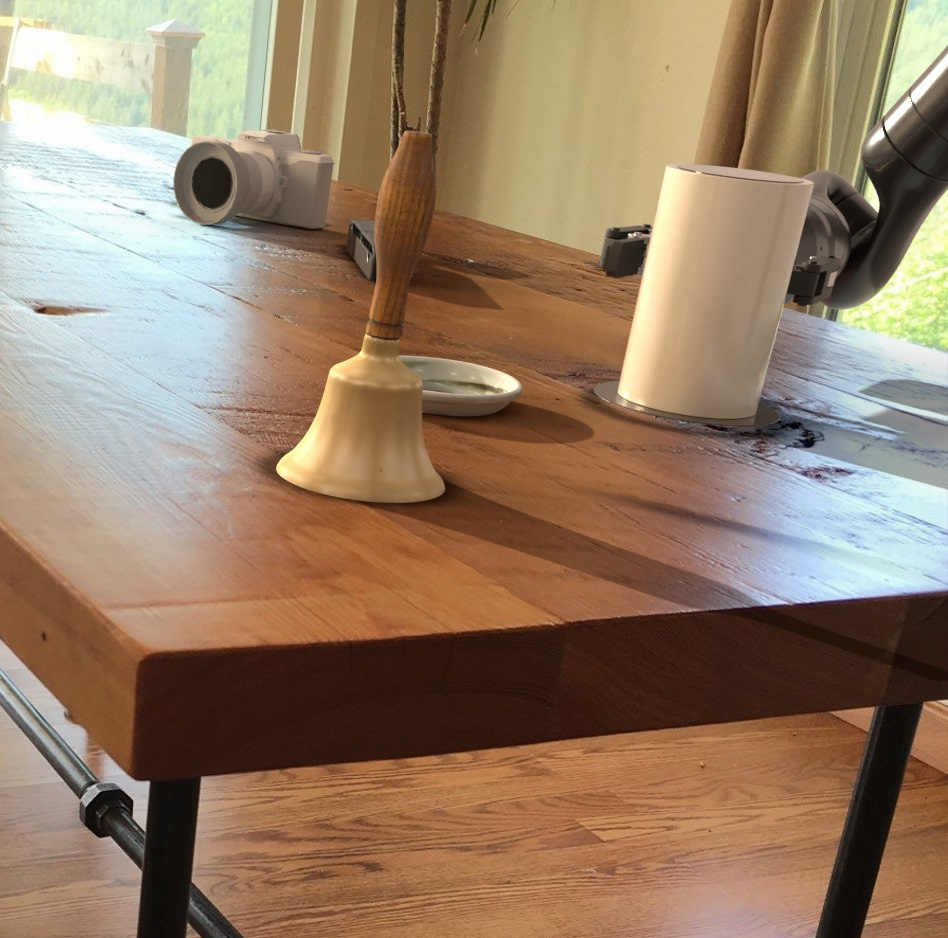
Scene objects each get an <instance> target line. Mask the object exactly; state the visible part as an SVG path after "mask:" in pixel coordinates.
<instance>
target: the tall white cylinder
mask: <svg viewBox="0 0 948 938" xmlns="http://www.w3.org/2000/svg"><path fill="white" fill-rule="evenodd" d="M801 178H802V177H796V176H791V175H787V174H786V175H785V174H781V173H774V172H770V171H769V172H768V171H761V170H755V169H747V168H739V167H729V166H719V165H709V164H693V163H691V164H690V163H669V164H666V165H665V167H664V172H663V177H662V181H661V182H662V183H661V186H660V190H659V196H658V200H657V204H656V209H655V214H654V219H653V224H652V226H651V227H652V232H651V237H650V241H649V246H648V251H647V255H646V260H645V265H644V269H643V274H642V275H641V280H640V284H639V289H638V293H637V298H636V302H635V307H634V312H633V317H632V322H631V326H630V330H629V335H628V340H627V345H626V349H625V353H624V354H625V355H624V359H623V363H622V368H621V373H620V377H619V380H618V381H619V386H618V394H619V395H620V396H621V397H623V398H624V399H626V400H628V401H630V402H633V403H636V404H638V405H641V406H645V407H648V408H652V409H656V410H660V411H664V412H669V413H674V414H680V415H686V416H694V417H702V418H714V419H741V418H748V417H751V416H754V415H755V414H756V413H757V409H758V405H759V402H760V400H761V398H762V393H763V389H764V385H765V381H766V378H767V373H768V370H769V366H770V361H771V357H772V353H773V350H774V346H775V342H776V338H777V333H778V329H779V326H780V322H781V318H782V314H783V310H784V306H785V305H784V302H785V299H786V295H787V291H788V287H789V283H790V279H791V275H792V271H793V267H794V263H795V259H796V255H797V251H798V247H799V243H800V239H801V235H802V231H803V228H804V224H805V220H806V216H807V212H808V208H809V204H810V200H811V196H812V192H813V188H814V183H813V182H812V181H809V180H805V179H801Z"/></svg>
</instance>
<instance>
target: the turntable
mask: <svg viewBox="0 0 948 938" xmlns="http://www.w3.org/2000/svg"><path fill="white" fill-rule="evenodd" d="M619 381H620V380H613V381H607V382H602V383H599V384H597V385H596V386H594V389H593V392H594V393H595V395H597V396H598V397H599V398H601V399H602V400H604V401H607V402H609V403H611V404H613V405H615V406H618V407H621V408H623V409H628V410H630V411H634V412H637V413H641V414H646V415H650V416H654V417H657V418H658V417H659V418H664V419H669V420H674V421H681V422H687V423H694V424H700V425H701V424H702V425H711V426H723V427H761V426H767V425H772V424H776V423H777V422H779V421H780V420H781V414H780V413H779V411H776V409H774V408H772V407H770V406H769V405H766V404H764V403H762V402H760V401H759V405H758V409H757V413H756V414H755V415H754V416H751V417H748V418H741V419H714V418H702V417H694V416H686V415H680V414H674V413H669V412H664V411H660V410H656V409H652V408H648V407H645V406H641V405H638V404H636V403H633V402H630V401H628V400H626V399H624V398H623V397H621V396H620V395H619V394H618V386H619Z"/></svg>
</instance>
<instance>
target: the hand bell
mask: <svg viewBox="0 0 948 938" xmlns="http://www.w3.org/2000/svg"><path fill="white" fill-rule="evenodd" d="M436 197H437V178H436V168H435V162H434V153H433V134H432V133H429V132H424V131H416V130H405V131H404V132H403V134H402V136H401V139H400V141H399V144H398V147H397V149H396V151H395V153H394V155H393V157H392V159H391V161H390V163H389V165H388V167H387V169H386V171H385V174H384V175H383V179H382V182H381V185H380V188H379V192H378V197H377V201H376V208H375V217H374V221H375V227H374V242H375V252H376V260H377V278H376V281H375V287H374V292H373V295H372V301H371V305H370V309H369V310H370V311H369V315H368V319H369V320H368V321H367V324H366V326H365V327H366V328H365V334H364V337H363V342H362V346H361V350H360V352H359V353H358V354H357V355H355V356H353V357H351V358H349V359H347V360H344V361H342V362H339V363H336V364H334V365H333V366H332V367H331V368H330V370H329V372H328V376H327V380H326V384H325V386H324V387H325V388H324V391H323V395H322V397H321V401H320V405H319V407H318V410H317V412H316V415H315V417H314V419H313V421H312V423H311V425H310V427H309V429H308V431H307V432H306V433H305V435H304V437H303V438H302V439H301V440H300V442H299V443H298V444H297V445H296V446H295V447H294V449H292V450H291V451H289V452H287V453H286V454H285V455H283V457H281V459H280V460H279V461H278V463H277V465H276V468H275V469H276V472H277V474H278V475H279V476H280V477H281V478H282V479H284V480H285V481H286V482H288V483H291V484H292V485H295V486H296V487H300V488H303V489H305V490H308V491H311V492H314V493H318V494H322V495H326V496H331V497H335V498H341V499H347V500H351V501H360V502H370V503H385V504H387V503H388V504H405V503H417V502H424V501H430V500H433V499H436V498H438V497H440V496H442V495H443V494H444V493H445V491H446V487H445V483H444V480H443V478H442V477H441V475H440V473H438V472H437V471H436V469H435V468H434V466H433V464H432V461H431V458H430V457H429V454H428V451H427V448H426V443H425V438H424V431H423V413H422V391H423V390H424V389H423V383H422V379H421V378H420V376H419V375H418V374H416V373H415V372H413V371H412V370H411V369H409V368H408V367H407V366H406V365H405V364H404V363H403V362H402V361H401V360H400V358H399V356H400V345H401V340H400V338H401V337H402V336H403V334H404V325H403V324H404V322H405V318H406V310H407V302H408V296H409V295H408V294H409V288H410V284H411V279H412V276H413V274H414V271H415V268H416V266H417V264H418V262H419V260H420V258H421V256H422V253H423V251H424V249H425V246H426V244H427V241H428V239H429V238H428V237H429V234H430V231H431V227H432V223H433V219H434V213H435V207H436Z"/></svg>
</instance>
